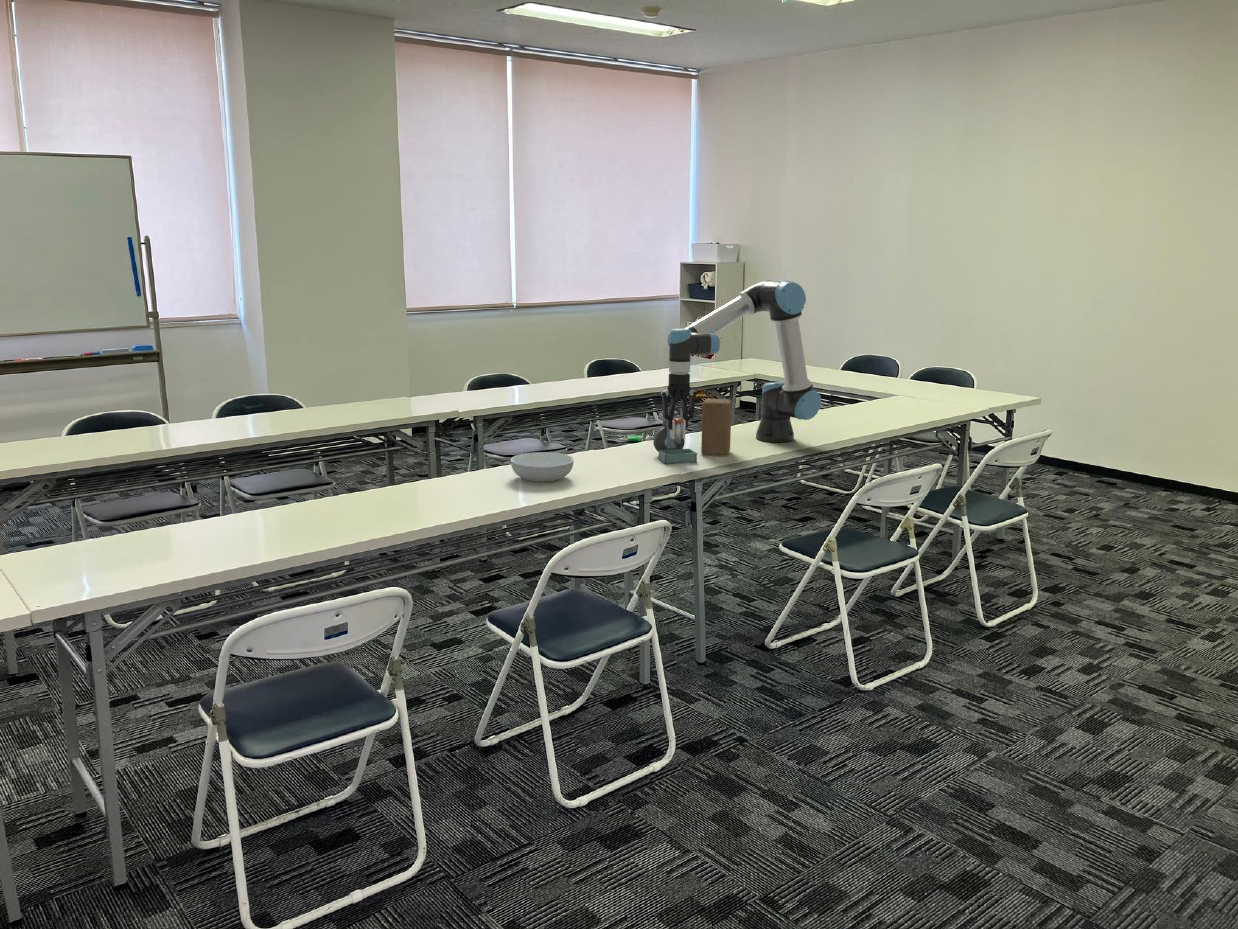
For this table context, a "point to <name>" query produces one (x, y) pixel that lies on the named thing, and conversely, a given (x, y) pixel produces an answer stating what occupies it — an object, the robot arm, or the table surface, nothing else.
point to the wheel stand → (666, 436)
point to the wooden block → (716, 427)
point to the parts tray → (677, 456)
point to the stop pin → (678, 430)
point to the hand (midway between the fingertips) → (677, 437)
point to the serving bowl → (542, 466)
